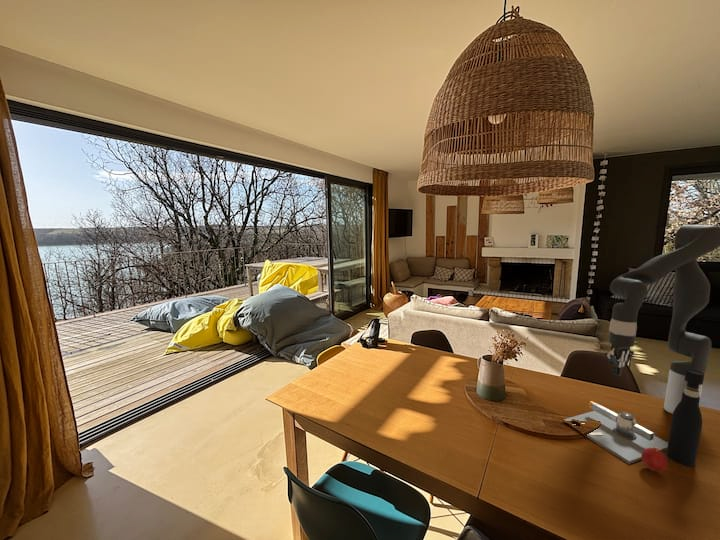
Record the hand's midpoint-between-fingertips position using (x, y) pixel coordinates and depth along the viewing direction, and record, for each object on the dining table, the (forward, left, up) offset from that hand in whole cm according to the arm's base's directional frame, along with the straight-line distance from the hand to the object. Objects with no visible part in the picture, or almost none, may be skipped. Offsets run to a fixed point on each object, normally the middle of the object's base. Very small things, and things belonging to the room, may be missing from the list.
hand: (616, 375), depth 115 cm
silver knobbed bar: (+6, +6, -17) cm, 19 cm away
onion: (+15, +21, -19) cm, 32 cm away
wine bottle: (+1, +21, -19) cm, 28 cm away
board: (+8, +6, -18) cm, 21 cm away
